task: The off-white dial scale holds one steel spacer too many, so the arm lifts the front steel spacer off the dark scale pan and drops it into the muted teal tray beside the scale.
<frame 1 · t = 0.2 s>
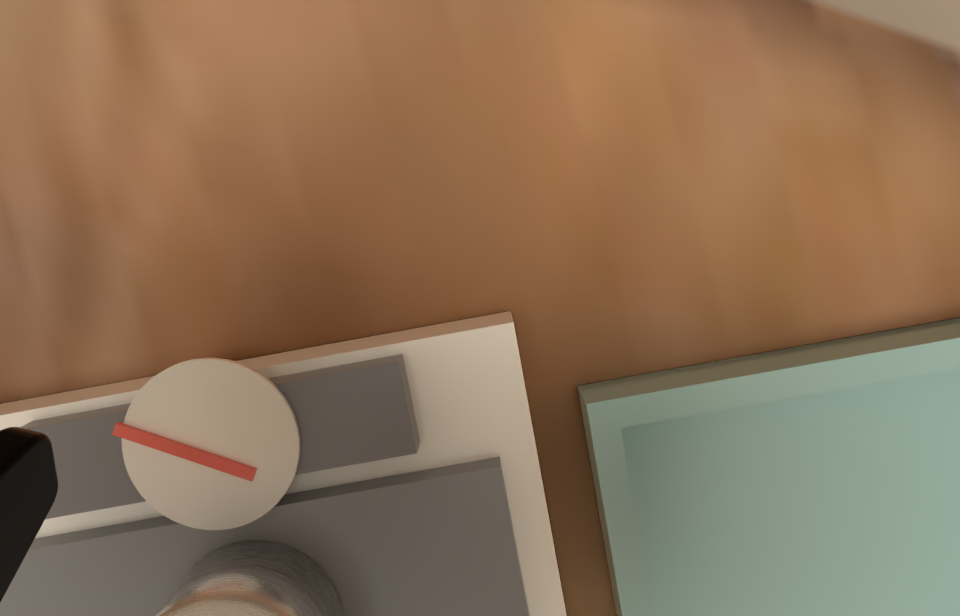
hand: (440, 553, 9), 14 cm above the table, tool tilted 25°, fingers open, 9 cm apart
tray: (828, 556, 24), on the table
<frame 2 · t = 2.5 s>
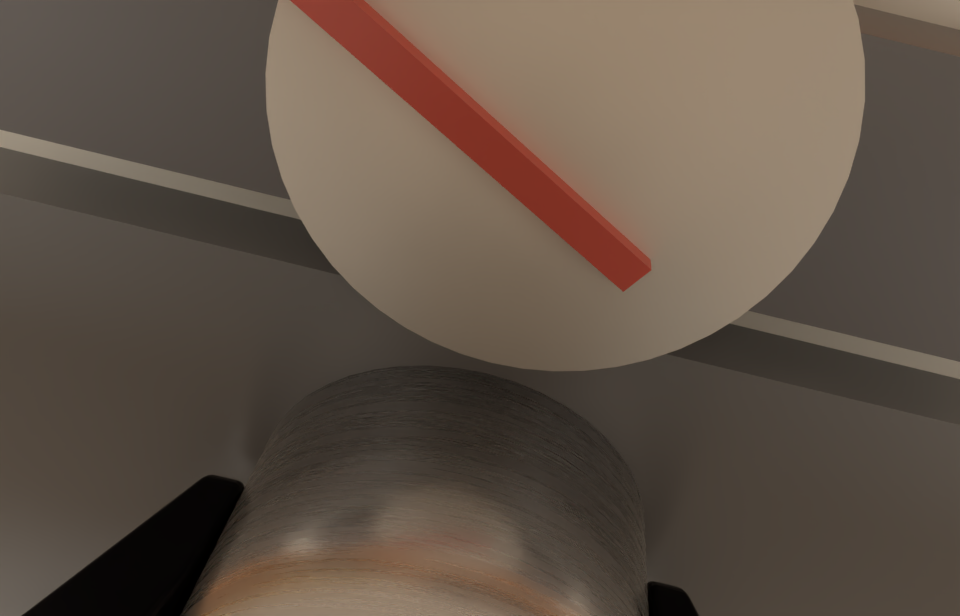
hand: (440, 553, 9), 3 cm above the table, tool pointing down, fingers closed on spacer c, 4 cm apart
scale: (461, 439, 12), on the table
spacer c: (448, 516, 9), point 3 cm above the table, touching gripper, scale
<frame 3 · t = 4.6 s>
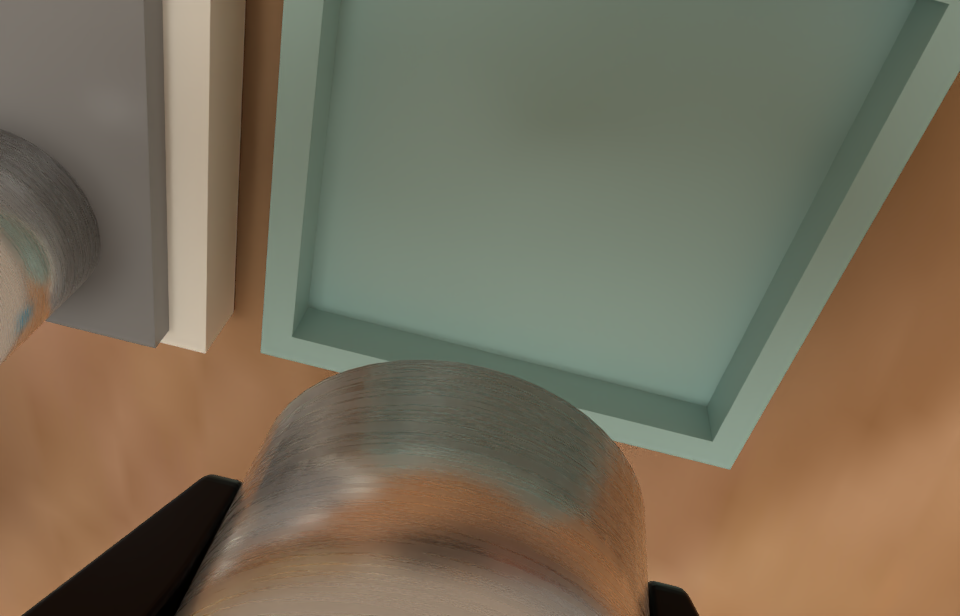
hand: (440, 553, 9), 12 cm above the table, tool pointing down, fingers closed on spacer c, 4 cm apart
spacer a: (7, 214, 19), point 3 cm above the table, touching scale
spacer c: (447, 512, 9), point 12 cm above the table, touching gripper
tray: (564, 163, 19), on the table
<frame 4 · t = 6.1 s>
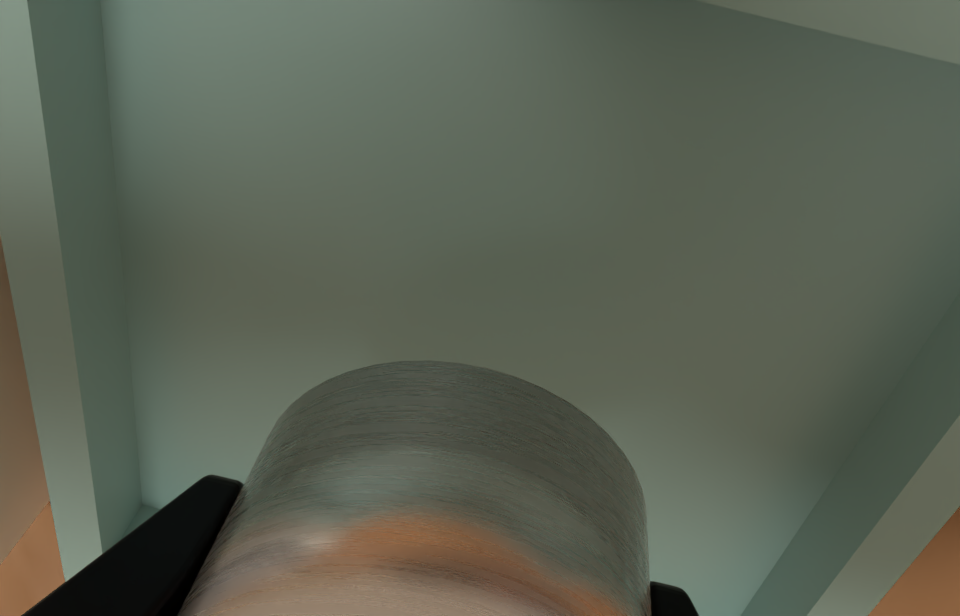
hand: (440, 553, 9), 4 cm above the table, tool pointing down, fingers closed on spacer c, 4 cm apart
spacer c: (449, 513, 9), point 4 cm above the table, touching gripper
tray: (495, 325, 12), on the table
when the fingers open (3 cm above the table, at t = 7.2 s): spacer c drops 2 cm, resting on tray.
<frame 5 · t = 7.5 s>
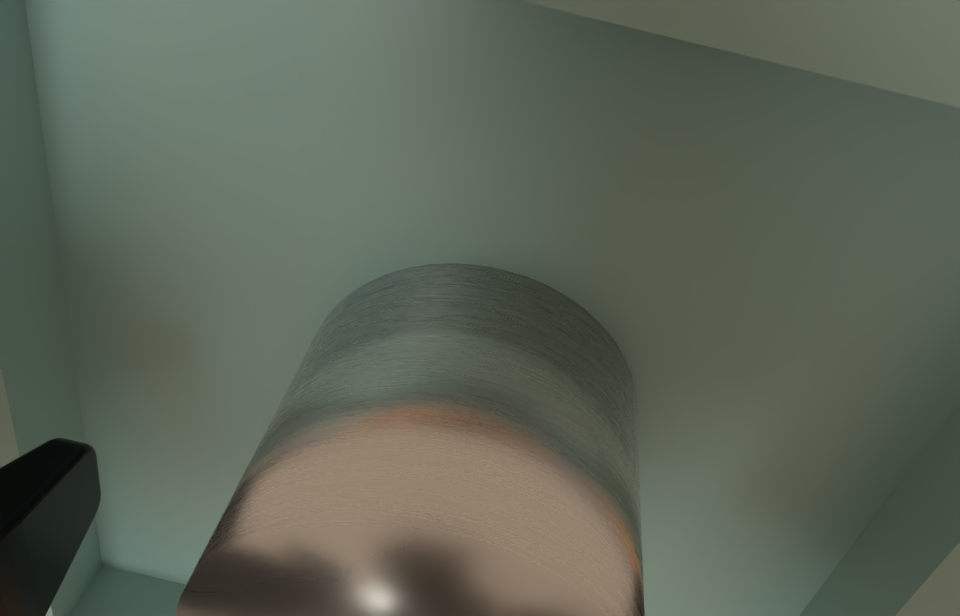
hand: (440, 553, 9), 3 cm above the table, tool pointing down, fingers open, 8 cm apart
spacer c: (468, 405, 11), point 1 cm above the table, touching tray
tray: (479, 381, 11), on the table
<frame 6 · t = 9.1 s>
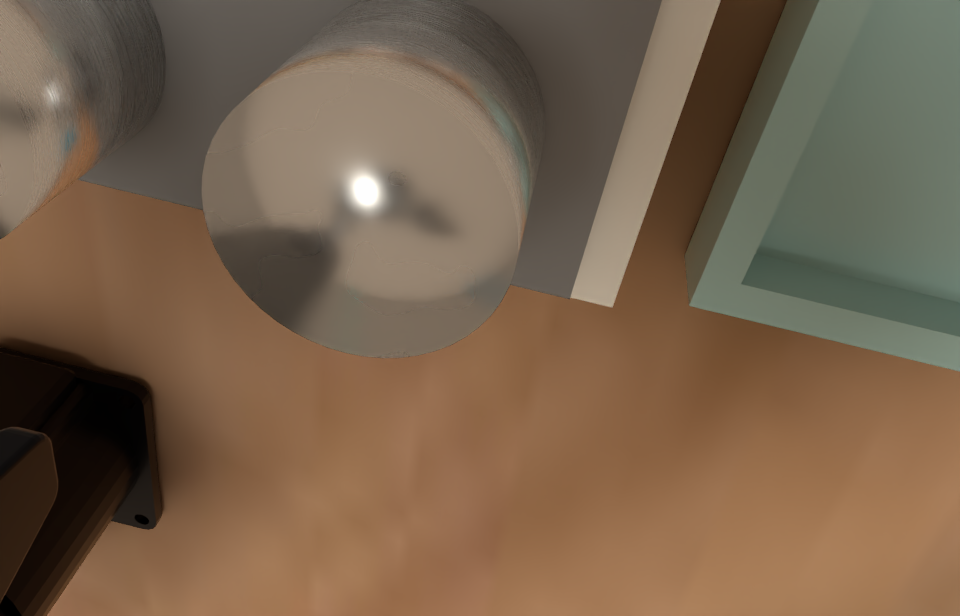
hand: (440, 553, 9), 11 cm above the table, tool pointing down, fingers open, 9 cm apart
spacer a: (420, 120, 14), point 3 cm above the table, touching scale
spacer b: (46, 31, 14), point 3 cm above the table, touching scale
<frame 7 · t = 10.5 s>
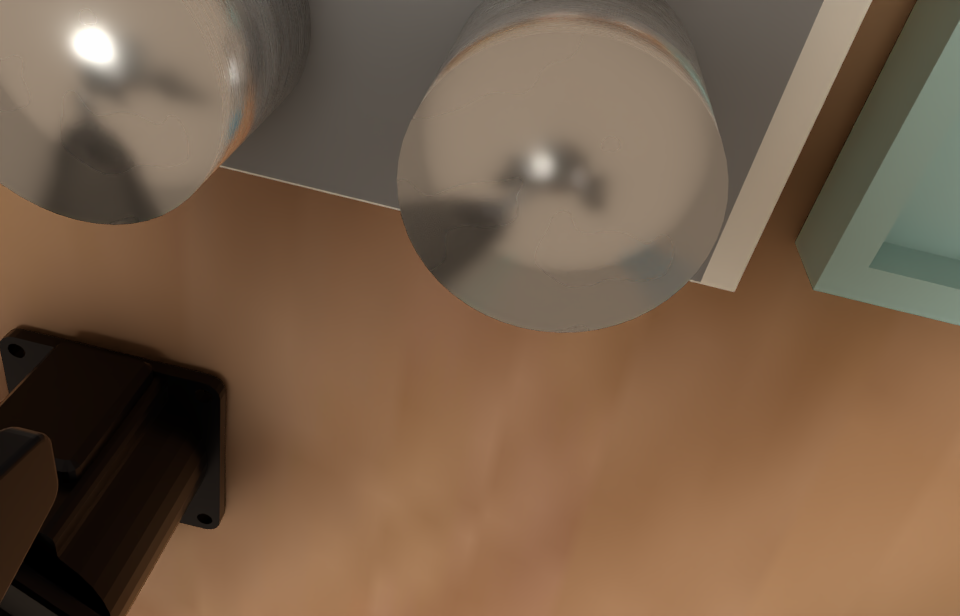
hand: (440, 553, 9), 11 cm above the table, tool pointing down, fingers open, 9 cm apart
spacer a: (569, 98, 14), point 3 cm above the table, touching scale
spacer b: (188, 5, 14), point 3 cm above the table, touching scale
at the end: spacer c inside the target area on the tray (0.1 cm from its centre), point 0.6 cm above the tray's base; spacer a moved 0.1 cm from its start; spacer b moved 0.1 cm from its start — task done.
